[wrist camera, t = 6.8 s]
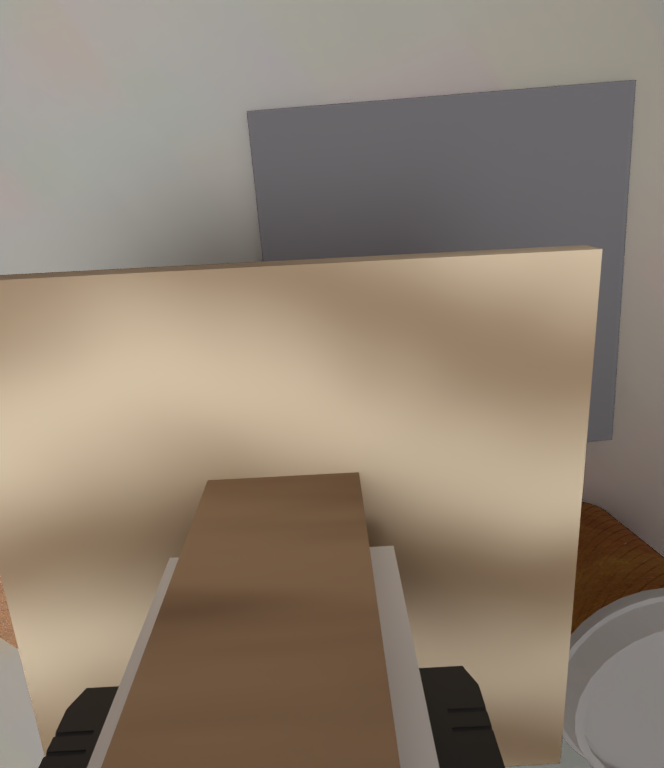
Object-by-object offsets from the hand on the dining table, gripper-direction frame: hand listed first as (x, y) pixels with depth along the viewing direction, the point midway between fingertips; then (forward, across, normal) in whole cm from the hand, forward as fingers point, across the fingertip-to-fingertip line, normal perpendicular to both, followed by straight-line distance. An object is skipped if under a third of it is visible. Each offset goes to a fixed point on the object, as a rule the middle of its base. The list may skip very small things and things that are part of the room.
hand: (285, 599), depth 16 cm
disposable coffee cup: (+19, -15, +11) cm, 27 cm away
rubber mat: (+19, -8, -4) cm, 21 cm away
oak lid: (+3, 0, 0) cm, 3 cm away
